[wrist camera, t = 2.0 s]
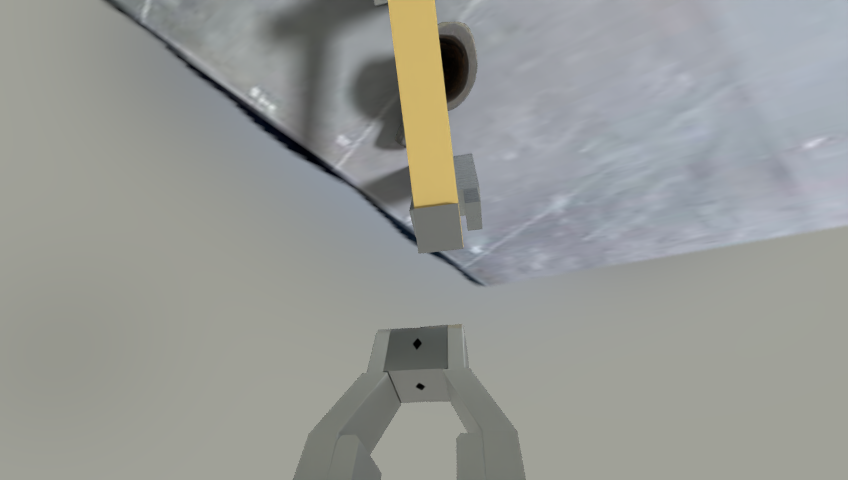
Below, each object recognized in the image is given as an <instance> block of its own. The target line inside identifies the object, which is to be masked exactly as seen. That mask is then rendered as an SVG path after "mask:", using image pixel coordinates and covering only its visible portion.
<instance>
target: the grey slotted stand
mask: <svg viewBox="0 0 848 480" xmlns="http://www.w3.org/2000/svg"><path fill="white" fill-rule="evenodd" d="M374 4H375V6H379V5H383V4H388V0H374Z"/></svg>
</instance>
